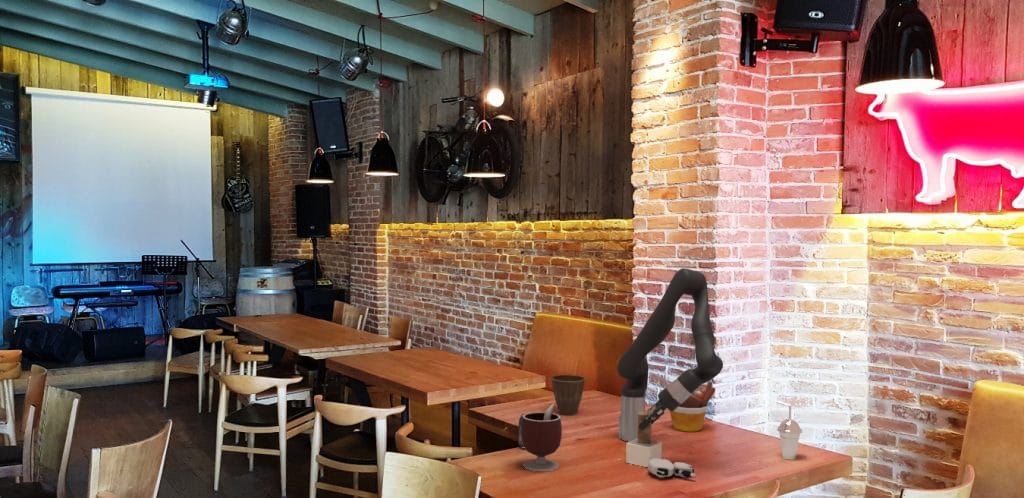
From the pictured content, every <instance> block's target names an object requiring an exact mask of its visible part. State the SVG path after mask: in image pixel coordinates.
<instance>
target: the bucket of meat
mask: <svg viewBox="0 0 1024 498" xmlns="http://www.w3.org/2000/svg"><path fill="white" fill-rule="evenodd" d="M715 392H716V389H715V387H713V383H712V381H708V382H706V387H705V391H704V390H702V391H701V390H698V391H697V389H696V390H695V391H694V392H693V393H692V394H691V395H690V396H689V397H688V398H687V399H686V400H685V401H684V402H683V403H682V404H681V405H680V406H679V407H677V408H676V409H675V410H674V411H670V410H669V413H670V417H671V423H672V427H673V428H674V429H675V430H676V431H679V432H684V433H696V432H699V431H700V430H702V429H703V425H704V422H705V418H706V414H707V410H708V402H710V399H711V398H712V396H713V395H714V393H715Z"/></svg>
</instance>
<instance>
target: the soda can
mask: <svg viewBox="0 0 1024 498" xmlns="http://www.w3.org/2000/svg"><path fill="white" fill-rule="evenodd" d="M524 414H525V413H521V414H520V417H519V419H518V446H519V448H520V449H522V447H524V446H523V443H522V438H521V425H522V420H523V415H524Z"/></svg>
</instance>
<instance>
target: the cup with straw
mask: <svg viewBox="0 0 1024 498" xmlns="http://www.w3.org/2000/svg"><path fill="white" fill-rule="evenodd" d="M774 402H775V403H776V404H779V405H782V406H783V405H784V406H786V407H788V418H786V419H784V420H782V421H781V422H780V424H779V426H777V428H776V430H777V432H779V437H780V438H779V439H780V447H781V454H782V458H783V459H784V460H796V458H797V452H798V445H799V440H800V435H801V434H802V433H803V430H802V429H801V428H800V425H799V423H798V422H796V421H795V420H794V419H792V406H791V404H789V403H785V402H782V401H779V400H775V401H774Z"/></svg>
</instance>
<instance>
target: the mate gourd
mask: <svg viewBox="0 0 1024 498" xmlns="http://www.w3.org/2000/svg"><path fill="white" fill-rule="evenodd" d="M555 405H556V403H551V405H550V406H549V407H548V408H547V409H546V410H545V412H543V411H542V412H541V411H534V412H527V413H523V414H524V415H523V420H522V425H521V438H522V443H523V446H524V447H525V449H524V450H526V452H527V453H529V454H532V455H534V456H536V458H535V459H528V460H526V461H524V462H523V463H522V467H523V466H524V467H525V468H526V469H525V468H524V467H523V468H524V469H525V470H527V469H529V470H528V471H530V470H533V471H532V472H535V471H550V472H552V471H551V470H554V469H556V468H558V467H559V468H560V465H559V463H558V462H557V461H554V460H551V459H547V458H546V457H547V456H549V455H552V454H554V453H556V451H557V450H558V448H559V447H560V446H561V441H562V436H563V435H562V431H563V430H562V429H563V427H562V420H561V416H560V415H559V414H557V413H553V409H554V406H555ZM559 468H558V469H559ZM554 471H555V470H554Z"/></svg>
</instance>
